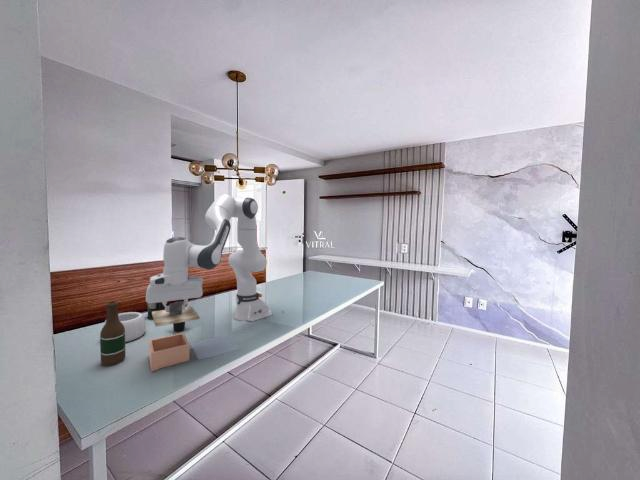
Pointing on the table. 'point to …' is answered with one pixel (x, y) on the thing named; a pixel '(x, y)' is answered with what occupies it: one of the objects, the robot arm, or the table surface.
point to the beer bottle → (112, 337)
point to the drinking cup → (180, 325)
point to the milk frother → (154, 308)
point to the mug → (132, 325)
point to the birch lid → (174, 315)
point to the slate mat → (213, 346)
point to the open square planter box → (168, 351)
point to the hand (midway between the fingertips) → (175, 310)
